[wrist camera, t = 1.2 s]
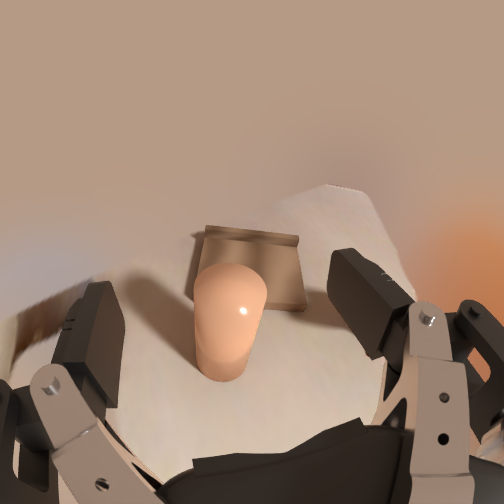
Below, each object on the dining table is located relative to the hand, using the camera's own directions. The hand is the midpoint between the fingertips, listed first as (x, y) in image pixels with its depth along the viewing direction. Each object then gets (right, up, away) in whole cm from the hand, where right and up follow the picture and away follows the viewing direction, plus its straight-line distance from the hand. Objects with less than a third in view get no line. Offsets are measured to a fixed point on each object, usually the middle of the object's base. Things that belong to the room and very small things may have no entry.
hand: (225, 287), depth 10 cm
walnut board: (+1, -2, +29) cm, 29 cm away
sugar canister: (-2, -10, +19) cm, 22 cm away
